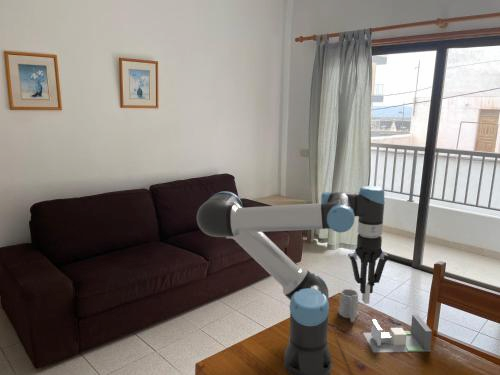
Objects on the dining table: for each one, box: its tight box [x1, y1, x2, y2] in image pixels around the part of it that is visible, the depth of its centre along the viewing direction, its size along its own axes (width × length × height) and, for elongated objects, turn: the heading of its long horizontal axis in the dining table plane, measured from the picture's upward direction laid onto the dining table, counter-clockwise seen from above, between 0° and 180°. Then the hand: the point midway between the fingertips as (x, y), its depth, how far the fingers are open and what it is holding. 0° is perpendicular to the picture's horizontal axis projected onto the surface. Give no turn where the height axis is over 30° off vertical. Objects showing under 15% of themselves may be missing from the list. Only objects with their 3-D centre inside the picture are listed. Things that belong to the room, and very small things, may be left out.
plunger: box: [370, 319, 391, 346], centre depth 131 cm, size 5×6×6 cm
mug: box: [337, 288, 360, 323], centre depth 147 cm, size 8×12×12 cm, turn 179°
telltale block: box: [389, 327, 407, 345], centre depth 131 cm, size 4×4×4 cm
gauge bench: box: [362, 314, 433, 353], centre depth 131 cm, size 19×11×8 cm, turn 92°
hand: (365, 301), depth 128 cm, fingers closed
